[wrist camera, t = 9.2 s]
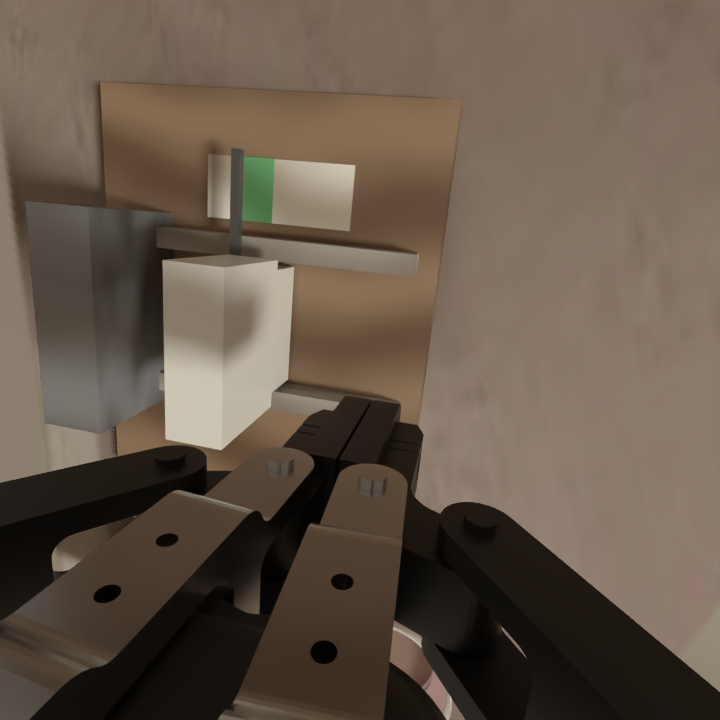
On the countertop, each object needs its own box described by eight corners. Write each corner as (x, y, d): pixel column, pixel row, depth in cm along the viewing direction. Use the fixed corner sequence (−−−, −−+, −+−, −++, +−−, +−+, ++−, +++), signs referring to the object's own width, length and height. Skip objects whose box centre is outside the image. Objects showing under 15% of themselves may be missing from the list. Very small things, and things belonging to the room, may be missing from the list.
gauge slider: (222, 154, 24) (111, 118, 16) (304, 161, 23) (227, 126, 16) (219, 377, 27) (125, 431, 19) (290, 388, 26) (221, 450, 19)
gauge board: (120, 90, 26) (-13, 35, 19) (462, 108, 22) (460, 50, 15) (134, 462, 32) (37, 528, 24) (405, 518, 28) (385, 612, 21)
